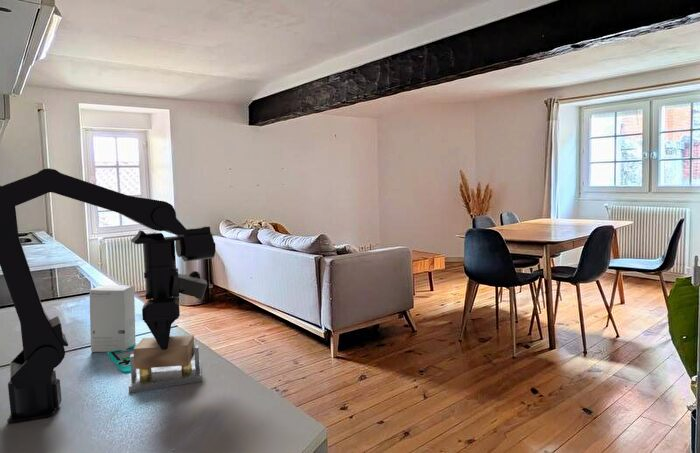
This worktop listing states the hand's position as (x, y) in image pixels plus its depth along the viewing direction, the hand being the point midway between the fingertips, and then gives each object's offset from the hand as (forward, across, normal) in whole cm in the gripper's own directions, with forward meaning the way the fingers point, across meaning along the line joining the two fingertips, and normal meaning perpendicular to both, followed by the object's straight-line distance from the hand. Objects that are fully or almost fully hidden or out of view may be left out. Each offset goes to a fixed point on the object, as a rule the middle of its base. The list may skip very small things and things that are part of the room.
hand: (165, 341), depth 91 cm
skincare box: (+8, +23, +12) cm, 27 cm away
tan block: (+4, 0, 0) cm, 4 cm away
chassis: (+8, 0, 0) cm, 8 cm away
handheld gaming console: (+8, +14, +7) cm, 18 cm away
